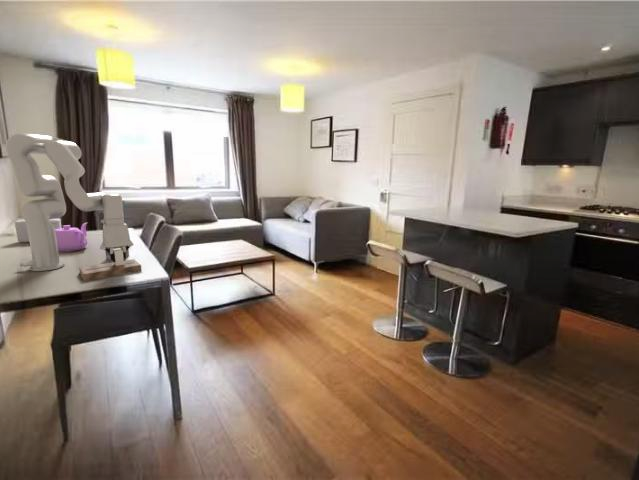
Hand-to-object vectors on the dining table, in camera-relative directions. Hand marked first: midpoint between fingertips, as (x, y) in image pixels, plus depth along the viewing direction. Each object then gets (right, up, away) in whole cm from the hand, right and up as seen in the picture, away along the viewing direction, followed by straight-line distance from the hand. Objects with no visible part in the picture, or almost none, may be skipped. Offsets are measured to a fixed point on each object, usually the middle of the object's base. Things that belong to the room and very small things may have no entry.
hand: (118, 260), depth 152 cm
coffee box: (-14, 0, +22) cm, 26 cm away
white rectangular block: (0, -2, 0) cm, 2 cm away
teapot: (-49, +4, +37) cm, 61 cm away
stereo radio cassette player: (-79, +9, +52) cm, 95 cm away
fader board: (-3, -5, -1) cm, 6 cm away
